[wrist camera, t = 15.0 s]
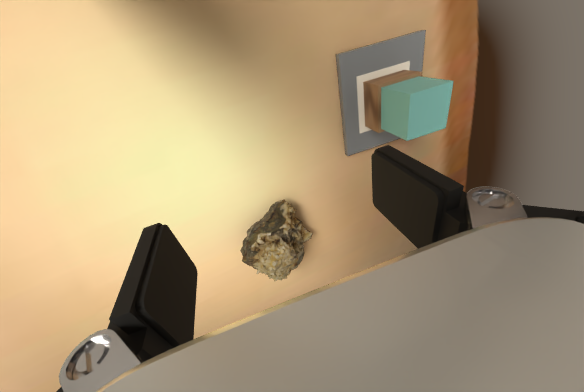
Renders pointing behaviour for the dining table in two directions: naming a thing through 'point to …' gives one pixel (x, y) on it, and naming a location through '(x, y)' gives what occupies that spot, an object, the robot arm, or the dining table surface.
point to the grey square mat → (366, 67)
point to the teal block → (415, 106)
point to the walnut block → (374, 96)
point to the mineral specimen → (276, 242)
